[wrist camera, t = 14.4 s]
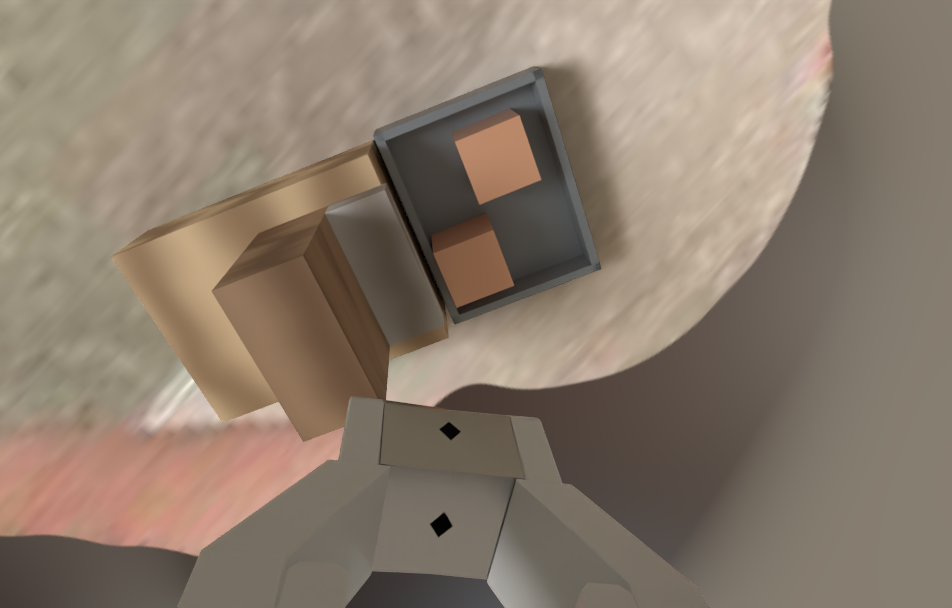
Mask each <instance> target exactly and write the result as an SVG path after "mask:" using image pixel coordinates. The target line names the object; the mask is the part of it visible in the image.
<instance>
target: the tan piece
mask: <svg viewBox="0 0 952 608" xmlns="http://www.w3.org/2000/svg"><path fill="white" fill-rule="evenodd" d="M385 183H386V184H387V186H388V189H389V191H390V193H391V195H392V198H393V200H394V202H395V205H396V207H397V209H398V211H399V214H400V216H401V218H402V221H403V223H404V225H405V227H406V230H407V232H408V234H409V237H410V239H411V241H412V244H413V246H414V248H415V250H416V253H417V255H418V257H419V260H420V262H421V264H422V266H423V269H424V271H425V273H426V276H427V278H428V280H429V282H430V285H431V287H432V289H433V292H434V294H435V296H436V299H437V301H438V303H439V305H440V308H441V310H442V312H443V318H444V326H442V327H439V328H437V329H434V330H431V331H429V332H426V333H423V334H421V335H418V336H415V337H413V338H410V339H407V340H405V341H402V342H400V343H397V344H394V345H392V346H390V352H389V360H390V359H393V358H396V357H398V356H401V355H404V354H406V353H409V352H412V351H414V350H417V349H419V348H422V347H425V346H427V345H430V344H433V343H435V342H438V341H441V340H443V339H446V338H449V337H448V329H447V320H446V312H445V304H444V302H443V300H442V297H441V295H440V293H439V290H438V288H437V286H436V283H435V281H434V279H433V277H432V274H431V272H430V270H429V267H428V265H427V263H426V260H425V258H424V256H423V254H422V251H421V249H420V247H419V244H418V242H417V240H416V237H415V235H414V233H413V230H412V228H411V226H410V224H409V221H408V219H407V217H406V214H405V212H404V210H403V207H402V205H401V203H400V201H399V198H398V196H397V194H396V191H395V189H394V187H393V184H392V182H391V180H390V177H389V175H388V173H387V171H386V168H385V166H384V164H383V161H382V159H381V157H380V154H379V152H378V150H377V148H376V145H375V143H374V141H370V142H368V143H365V144H363V145H360V146H358V147H355V148H353V149H350V150H348V151H345V152H343V153H340V154H338V155H335V156H333V157H330V158H328V159H325V160H323V161H320V162H318V163H315V164H313V165H310V166H308V167H305V168H303V169H300V170H298V171H295V172H293V173H290V174H288V175H285V176H283V177H280V178H278V179H275V180H273V181H270V182H268V183H265V184H263V185H260V186H258V187H255V188H253V189H250V190H248V191H245V192H243V193H240V194H238V195H235V196H233V197H230V198H228V199H225V200H223V201H220V202H218V203H215V204H213V205H210V206H208V207H205V208H203V209H200V210H198V211H195V212H193V213H190V214H188V215H185V216H183V217H180V218H178V219H175V220H173V221H170V222H168V223H166V224H163V225H161V226H158V227H156V228H153V229H151V230H148V231H147V232H145V233H144V234H142V235H141V236H140V237H138V238H137V239H135V240H134V241H133V242H131V243H130V244H128V245H127V246H126V247H124V248H123V249H121V250H120V251H119V252H117V253H116V254H114V255H113V256H112V257H111V258H112V259H113V261H114V262H115V264H116V265H117V267H118V268H119V270H120V271H121V273H122V274H123V276H124V277H125V279H126V280H127V282H128V283H129V285H130V286H131V288H132V289H133V290H134V292H135V293H136V295H137V296H138V298H139V299H140V301H141V302H142V304H143V305H144V307H145V308H146V310H147V311H148V313H149V314H150V316H151V317H152V319H153V320H154V322H155V323H156V325H157V326H158V328H159V329H160V331H161V332H162V334H163V335H164V336H165V338H166V339H167V341H168V342H169V344H170V345H171V347H172V348H173V350H174V351H175V353H176V354H177V356H178V357H179V359H180V360H181V362H182V363H183V365H184V366H185V368H186V369H187V371H188V372H189V374H190V375H191V377H192V378H193V380H194V381H195V383H196V384H197V385H198V387H199V388H200V390H201V391H202V393H203V394H204V396H205V397H206V399H207V400H208V402H209V403H210V405H211V406H212V408H213V409H214V411H215V412H216V414H217V415H218V417H219V418H220V420H221V421H222V423H223V422H226V421H228V420H231V419H234V418H236V417H239V416H242V415H244V414H247V413H250V412H252V411H255V410H258V409H260V408H263V407H266V406H268V405H271V404H274V403H276V402H279V401H278V399H277V398H276V396H275V395H274V393H273V391H272V390H271V388H270V386H269V385H268V383H267V381H266V380H265V378H264V377H263V375H262V373H261V372H260V370H259V368H258V367H257V365H256V363H255V362H254V360H253V359H252V357H251V355H250V354H249V352H248V350H247V349H246V347H245V345H244V344H243V342H242V341H241V339H240V337H239V336H238V334H237V332H236V331H235V329H234V327H233V326H232V324H231V323H230V321H229V319H228V318H227V316H226V314H225V313H224V311H223V309H222V308H221V306H220V305H219V303H218V301H217V300H216V298H215V296H214V295H213V293H212V290H213V289H214V287H215V286H216V285H217V284H218V282H219V281H220V280H221V279H222V277H223V276H224V275H225V274H226V272H227V271H228V270H229V269H230V268H231V266H232V265H233V264H234V263H235V261H236V260H237V259H238V258H239V256H240V255H241V254H242V253H243V252H244V250H245V249H246V248H247V247H248V245H249V244H250V243H251V242H252V240H253V239H254V238H255V237H256V235H257V234H258V233H260V232H263V231H265V230H268V229H270V228H273V227H275V226H278V225H280V224H283V223H286V222H288V221H291V220H293V219H296V218H298V217H301V216H303V215H306V214H308V213H311V212H313V211H316V210H319V209H321V208H324V207H326V206H329V205H331V204H334V203H336V202H339V201H341V200H344V199H346V198H349V197H352V196H354V195H357V194H359V193H362V192H364V191H367V190H369V189H372V188H374V187H377V186H379V185H382V184H385Z"/></svg>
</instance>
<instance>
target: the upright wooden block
mask: <svg viewBox="0 0 952 608" xmlns="http://www.w3.org/2000/svg"><path fill="white" fill-rule="evenodd" d="M212 293H213V295H214V296H215V298H216V300H217V301H218V303H219V305H220V306H221V308H222V309H223V311H224V313H225V314H226V316H227V318H228V319H229V321H230V323H231V324H232V326H233V327H234V329H235V331H236V332H237V334H238V336H239V337H240V339H241V341H242V342H243V344H244V345H245V347H246V349H247V350H248V352H249V354H250V355H251V357H252V359H253V360H254V362H255V363H256V365H257V367H258V368H259V370H260V372H261V373H262V375H263V377H264V378H265V380H266V381H267V383H268V385H269V386H270V388H271V390H272V391H273V393H274V395H275V396H276V398H277V399H278V401H279V403H280V404H281V406H282V408H283V409H284V411H285V413H286V414H287V416H288V417H289V419H290V421H291V422H292V424H293V426H294V427H295V429H296V431H297V432H298V434H299V435H300V437H301V439H302V440H303V442H304V441H307V440H310V439H312V438H315V437H318V436H321V435H323V434H326V433H329V432H331V431H334V430H337V429H339V428H342V427H344V426H345V420H346V415H347V409H348V404H349V399H350V398H351V396H355V397H364V398H373V399H382V400H383V402H384V400H386V390H387V378H388V365H389V352H390V346H392V345H394V344H397V343H400V342H402V341H405V340H407V339H410V338H413V337H415V336H418V335H421V334H423V333H426V332H429V331H431V330H434V329H437V328H439V327H442V326H444V318H443V312H442V310H441V308H440V305H439V303H438V301H437V299H436V296H435V294H434V292H433V289H432V287H431V285H430V282H429V280H428V278H427V276H426V273H425V271H424V269H423V266H422V264H421V262H420V260H419V257H418V255H417V253H416V250H415V248H414V246H413V244H412V241H411V239H410V237H409V234H408V232H407V230H406V227H405V225H404V223H403V221H402V218H401V216H400V214H399V211H398V209H397V207H396V205H395V202H394V200H393V198H392V195H391V193H390V191H389V189H388V186H387V184H386V183H385V184H382V185H379V186H377V187H374V188H372V189H369V190H367V191H364V192H362V193H359V194H357V195H354V196H352V197H349V198H346V199H344V200H341V201H339V202H336V203H334V204H331V205H329V206H326V207H324V208H321V209H319V210H316V211H313V212H311V213H308V214H306V215H303V216H301V217H298V218H296V219H293V220H291V221H288V222H286V223H283V224H280V225H278V226H275V227H273V228H270V229H268V230H265V231H263V232H260V233H258V234H257V235H256V237H255V238H254V239H253V240H252V242H251V243H250V244H249V245H248V247H247V248H246V249H245V250H244V252H243V253H242V254H241V255H240V256H239V258H238V259H237V260H236V261H235V263H234V264H233V265H232V266H231V268H230V269H229V270H228V271H227V272H226V274H225V275H224V276H223V277H222V279H221V280H220V281H219V282H218V284H217V285H216V286H215V287H214V289H213V290H212Z"/></svg>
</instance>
